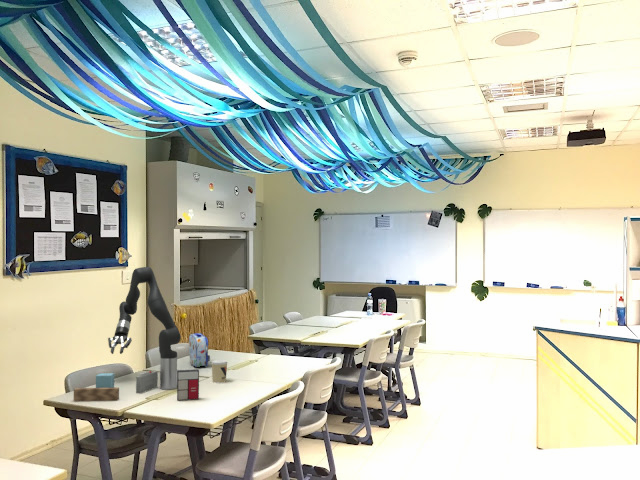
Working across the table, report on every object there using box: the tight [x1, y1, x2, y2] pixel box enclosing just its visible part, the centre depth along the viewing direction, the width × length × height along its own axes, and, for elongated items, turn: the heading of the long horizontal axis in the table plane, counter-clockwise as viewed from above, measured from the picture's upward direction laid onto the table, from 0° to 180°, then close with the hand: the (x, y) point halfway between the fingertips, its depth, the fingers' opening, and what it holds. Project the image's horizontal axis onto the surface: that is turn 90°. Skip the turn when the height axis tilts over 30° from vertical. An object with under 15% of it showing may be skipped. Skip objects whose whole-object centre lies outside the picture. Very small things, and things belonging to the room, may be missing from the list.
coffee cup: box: [211, 359, 228, 383], centre depth 325 cm, size 9×9×12 cm
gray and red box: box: [176, 368, 200, 401], centre depth 286 cm, size 11×4×15 cm, turn 105°
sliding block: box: [95, 372, 115, 388], centre depth 297 cm, size 8×6×9 cm
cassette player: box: [135, 370, 159, 394], centre depth 304 cm, size 16×3×10 cm, turn 162°
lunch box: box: [188, 332, 211, 368], centre depth 372 cm, size 28×10×22 cm, turn 25°
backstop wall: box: [73, 387, 120, 402], centre depth 292 cm, size 22×22×6 cm
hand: (116, 353), depth 317 cm, fingers open, 4 cm apart
